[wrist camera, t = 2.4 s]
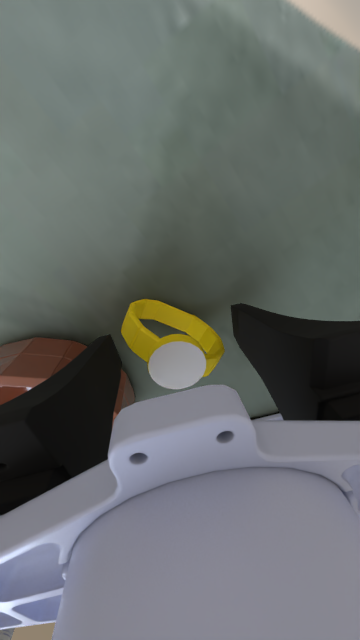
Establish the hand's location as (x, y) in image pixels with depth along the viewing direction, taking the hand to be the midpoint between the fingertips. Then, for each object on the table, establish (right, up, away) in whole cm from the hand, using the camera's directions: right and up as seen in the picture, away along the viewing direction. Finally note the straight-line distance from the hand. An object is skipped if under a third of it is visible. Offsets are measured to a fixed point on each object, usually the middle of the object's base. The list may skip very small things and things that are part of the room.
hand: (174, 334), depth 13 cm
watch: (0, +1, +3) cm, 3 cm away
